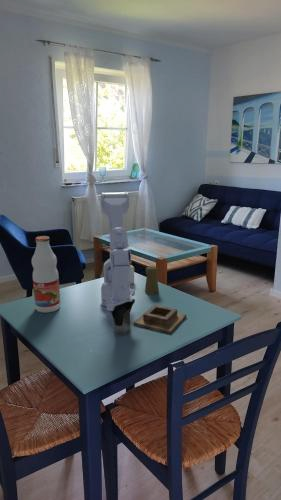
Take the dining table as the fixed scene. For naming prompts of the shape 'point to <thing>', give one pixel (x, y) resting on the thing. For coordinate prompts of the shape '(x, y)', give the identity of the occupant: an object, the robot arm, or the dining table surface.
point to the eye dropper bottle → (131, 274)
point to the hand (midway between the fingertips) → (122, 322)
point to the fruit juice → (45, 277)
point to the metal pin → (123, 323)
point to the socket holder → (160, 319)
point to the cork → (151, 280)
